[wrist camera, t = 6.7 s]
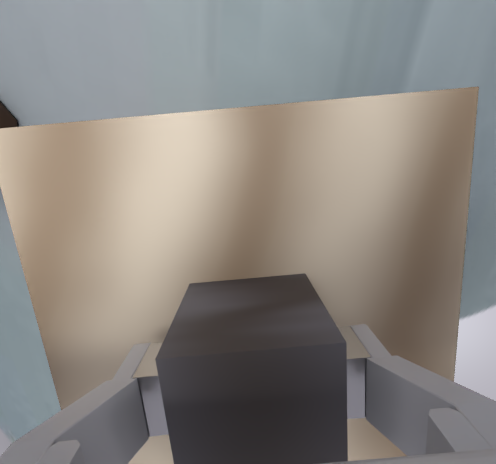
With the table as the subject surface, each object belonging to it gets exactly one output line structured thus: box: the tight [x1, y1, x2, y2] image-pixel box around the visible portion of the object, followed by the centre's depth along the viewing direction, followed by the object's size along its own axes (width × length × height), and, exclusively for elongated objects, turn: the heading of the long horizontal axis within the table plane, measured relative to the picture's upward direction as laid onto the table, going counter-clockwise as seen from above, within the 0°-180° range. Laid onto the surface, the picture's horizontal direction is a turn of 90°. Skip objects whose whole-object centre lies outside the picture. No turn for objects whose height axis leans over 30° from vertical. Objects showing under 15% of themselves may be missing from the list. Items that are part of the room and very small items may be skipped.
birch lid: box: [0, 87, 479, 464], centre depth 9 cm, size 15×15×5 cm
